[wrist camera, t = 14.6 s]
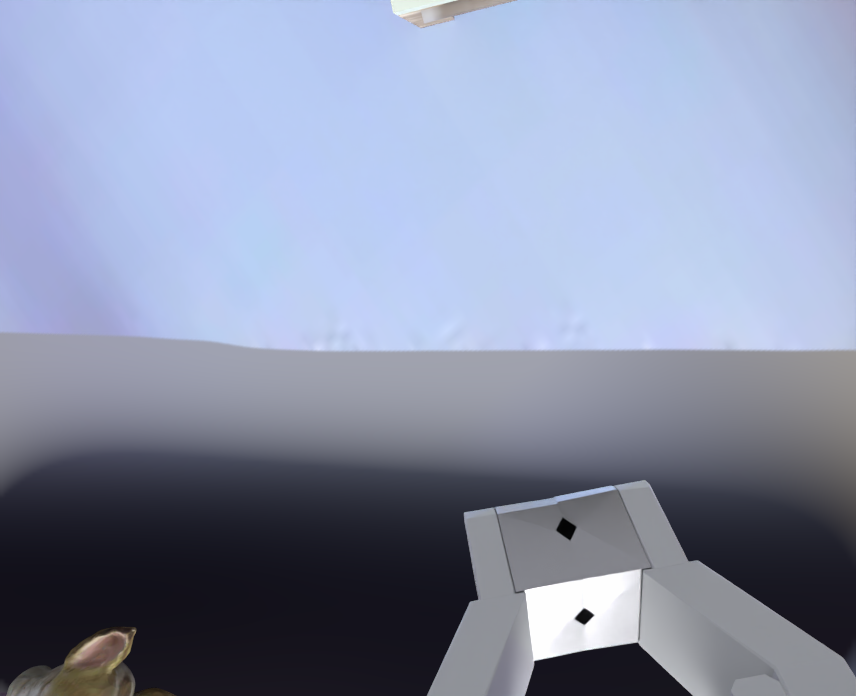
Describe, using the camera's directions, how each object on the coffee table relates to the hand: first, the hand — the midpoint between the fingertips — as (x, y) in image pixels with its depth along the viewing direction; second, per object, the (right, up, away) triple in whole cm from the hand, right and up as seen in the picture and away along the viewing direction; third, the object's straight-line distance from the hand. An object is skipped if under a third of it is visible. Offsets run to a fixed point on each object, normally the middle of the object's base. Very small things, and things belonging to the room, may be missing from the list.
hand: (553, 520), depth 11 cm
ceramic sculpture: (-31, -26, +52) cm, 66 cm away
